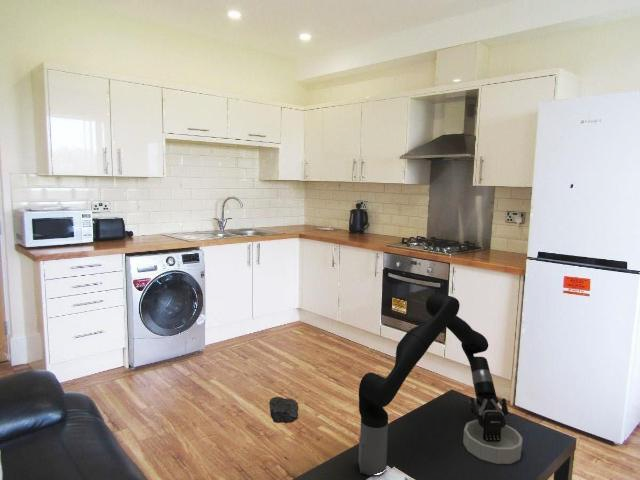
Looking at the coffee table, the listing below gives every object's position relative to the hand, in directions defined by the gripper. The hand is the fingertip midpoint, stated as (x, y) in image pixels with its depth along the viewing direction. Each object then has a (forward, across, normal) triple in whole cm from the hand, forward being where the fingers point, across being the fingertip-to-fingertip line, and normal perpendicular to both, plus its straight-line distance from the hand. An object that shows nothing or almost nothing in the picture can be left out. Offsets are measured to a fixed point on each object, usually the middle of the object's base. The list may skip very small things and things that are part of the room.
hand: (493, 427), depth 166 cm
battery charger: (+4, 0, +4) cm, 6 cm away
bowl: (+6, 0, +6) cm, 8 cm away
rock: (-9, -80, +21) cm, 83 cm away
